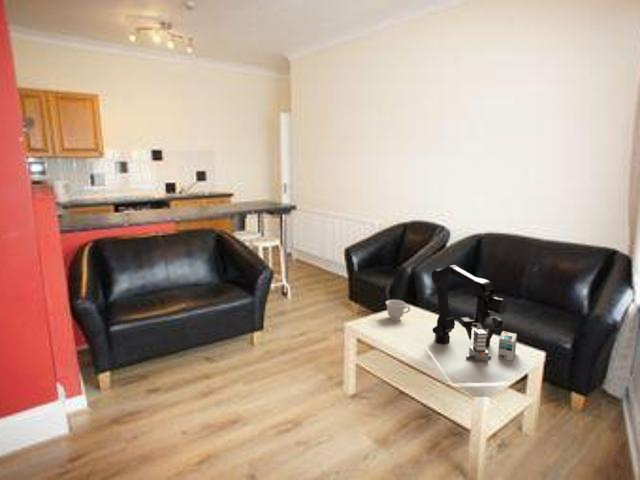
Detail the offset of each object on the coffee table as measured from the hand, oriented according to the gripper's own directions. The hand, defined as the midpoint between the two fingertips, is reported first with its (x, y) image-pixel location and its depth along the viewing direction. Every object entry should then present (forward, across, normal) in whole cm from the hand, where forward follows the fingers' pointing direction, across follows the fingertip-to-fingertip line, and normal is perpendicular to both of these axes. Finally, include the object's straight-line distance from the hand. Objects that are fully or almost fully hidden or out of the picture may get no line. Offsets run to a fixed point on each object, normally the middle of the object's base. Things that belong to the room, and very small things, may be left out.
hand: (479, 339), depth 185 cm
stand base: (+11, 0, 0) cm, 11 cm away
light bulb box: (+11, +15, +3) cm, 19 cm away
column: (+6, 0, 0) cm, 6 cm away
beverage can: (+11, +9, +15) cm, 21 cm away
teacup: (+11, -26, +53) cm, 60 cm away
